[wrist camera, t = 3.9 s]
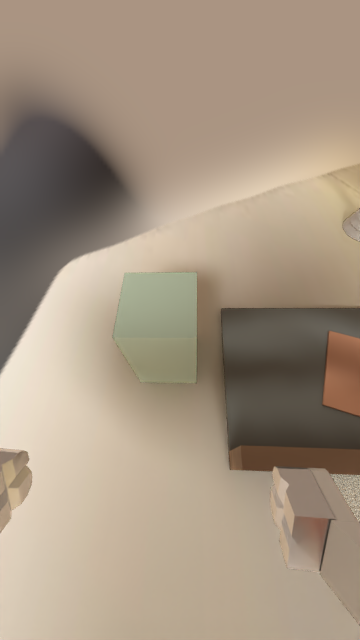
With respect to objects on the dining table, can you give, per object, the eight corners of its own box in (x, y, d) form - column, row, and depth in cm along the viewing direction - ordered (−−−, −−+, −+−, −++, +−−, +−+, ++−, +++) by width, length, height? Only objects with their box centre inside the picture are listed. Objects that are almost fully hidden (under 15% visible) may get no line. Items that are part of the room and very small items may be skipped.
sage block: (196, 383, 22) (196, 338, 15) (140, 382, 23) (112, 337, 15) (196, 333, 25) (196, 272, 17) (146, 332, 25) (124, 272, 18)
